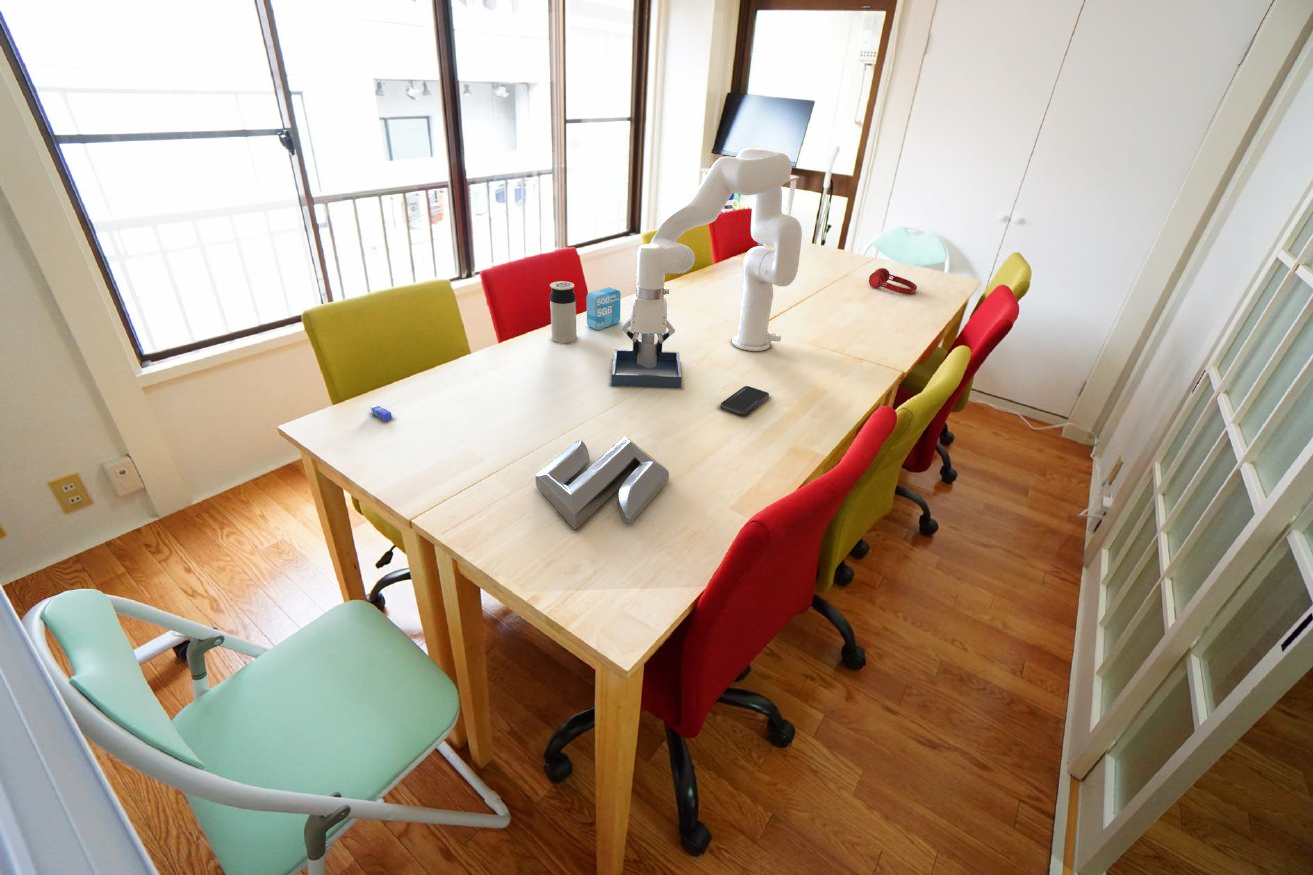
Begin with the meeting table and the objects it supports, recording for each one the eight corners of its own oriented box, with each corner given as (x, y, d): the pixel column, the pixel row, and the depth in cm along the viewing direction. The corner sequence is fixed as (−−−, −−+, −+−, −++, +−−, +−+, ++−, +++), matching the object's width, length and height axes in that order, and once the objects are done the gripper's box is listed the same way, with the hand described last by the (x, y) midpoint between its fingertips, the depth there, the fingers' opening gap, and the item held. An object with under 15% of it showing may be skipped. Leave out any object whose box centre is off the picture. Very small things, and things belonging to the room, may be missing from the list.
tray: (678, 362, 178) (678, 351, 176) (680, 388, 163) (681, 377, 161) (614, 360, 177) (614, 349, 175) (611, 386, 162) (611, 374, 160)
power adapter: (642, 360, 171) (643, 321, 165) (657, 365, 168) (659, 326, 162) (636, 363, 169) (637, 324, 162) (651, 368, 166) (653, 329, 160)
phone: (719, 404, 153) (745, 385, 164) (718, 408, 154) (745, 388, 164) (745, 413, 150) (771, 393, 160) (744, 417, 150) (770, 397, 161)
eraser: (378, 411, 144) (377, 403, 143) (392, 419, 141) (390, 411, 140) (371, 413, 143) (369, 406, 142) (385, 422, 140) (383, 414, 139)
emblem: (677, 507, 109) (527, 509, 106) (675, 529, 112) (529, 531, 109) (663, 430, 132) (540, 430, 130) (662, 450, 135) (542, 450, 133)
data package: (595, 331, 197) (595, 296, 190) (586, 327, 199) (585, 293, 193) (620, 322, 204) (620, 289, 198) (611, 319, 207) (611, 286, 201)
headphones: (864, 286, 255) (908, 302, 248) (870, 271, 251) (915, 286, 244) (872, 279, 266) (915, 294, 259) (878, 264, 262) (922, 279, 255)
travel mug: (581, 337, 191) (579, 283, 182) (568, 345, 185) (566, 290, 176) (560, 332, 194) (558, 279, 184) (547, 340, 188) (544, 285, 178)
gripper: (680, 289, 161) (676, 350, 170) (619, 286, 160) (617, 347, 170) (682, 298, 154) (677, 360, 164) (617, 295, 154) (616, 358, 163)
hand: (647, 353), depth 167 cm, fingers closed on power adapter, 5 cm apart
